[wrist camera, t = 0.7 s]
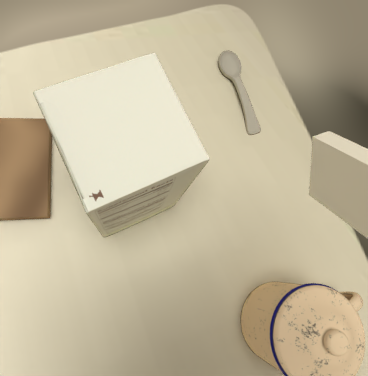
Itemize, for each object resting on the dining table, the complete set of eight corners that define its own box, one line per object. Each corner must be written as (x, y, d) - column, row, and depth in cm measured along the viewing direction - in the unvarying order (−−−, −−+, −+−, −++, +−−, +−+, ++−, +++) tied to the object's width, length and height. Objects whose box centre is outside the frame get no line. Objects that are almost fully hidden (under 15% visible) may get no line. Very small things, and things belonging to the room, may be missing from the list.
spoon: (232, 53, 45) (237, 44, 43) (260, 133, 44) (267, 129, 42) (212, 57, 44) (217, 49, 42) (241, 139, 43) (247, 134, 41)
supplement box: (177, 205, 39) (216, 163, 22) (103, 240, 36) (87, 220, 20) (142, 135, 40) (156, 46, 24) (69, 163, 37) (28, 87, 21)
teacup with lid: (259, 379, 36) (321, 431, 25) (224, 300, 37) (268, 315, 26) (344, 328, 39) (433, 353, 28) (309, 256, 40) (381, 253, 29)
